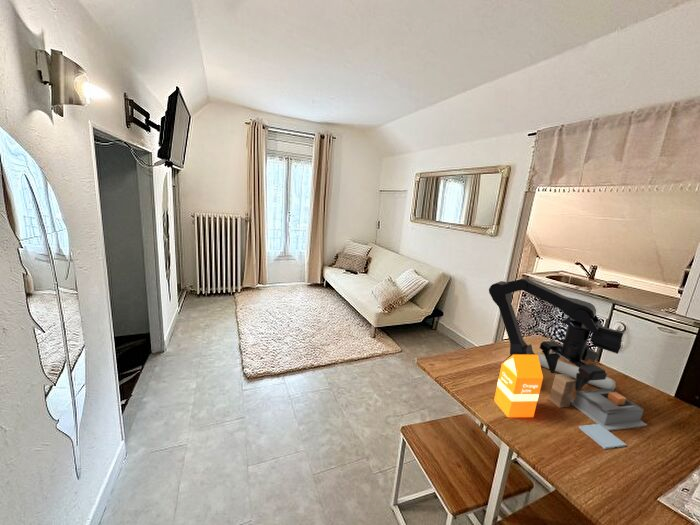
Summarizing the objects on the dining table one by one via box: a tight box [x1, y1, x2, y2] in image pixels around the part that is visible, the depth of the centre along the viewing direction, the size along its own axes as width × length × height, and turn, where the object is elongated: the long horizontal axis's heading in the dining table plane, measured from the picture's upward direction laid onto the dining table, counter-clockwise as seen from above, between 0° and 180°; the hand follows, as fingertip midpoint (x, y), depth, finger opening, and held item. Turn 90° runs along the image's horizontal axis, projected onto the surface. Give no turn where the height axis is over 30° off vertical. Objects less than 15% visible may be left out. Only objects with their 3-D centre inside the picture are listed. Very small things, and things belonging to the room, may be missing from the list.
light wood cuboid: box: [548, 373, 576, 409], centre depth 94 cm, size 4×4×10 cm
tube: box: [537, 352, 617, 391], centre depth 111 cm, size 5×5×25 cm
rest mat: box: [578, 423, 627, 450], centre depth 82 cm, size 8×8×1 cm
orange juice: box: [493, 354, 544, 418], centre depth 89 cm, size 8×9×20 cm
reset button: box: [607, 391, 627, 405], centre depth 91 cm, size 3×3×2 cm
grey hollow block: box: [570, 388, 648, 432], centre depth 92 cm, size 16×13×5 cm
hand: (564, 381), depth 94 cm, fingers open, 9 cm apart
